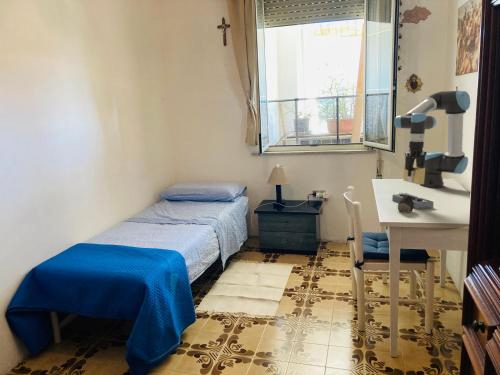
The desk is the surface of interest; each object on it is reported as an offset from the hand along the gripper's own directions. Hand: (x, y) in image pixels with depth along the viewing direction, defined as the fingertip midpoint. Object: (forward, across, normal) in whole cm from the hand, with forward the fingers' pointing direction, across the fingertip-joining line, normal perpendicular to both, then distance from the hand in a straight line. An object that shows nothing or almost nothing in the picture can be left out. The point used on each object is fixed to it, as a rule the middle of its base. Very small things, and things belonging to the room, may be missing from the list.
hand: (413, 181), depth 221 cm
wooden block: (0, 0, 0) cm, 0 cm away
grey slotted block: (+14, 0, 0) cm, 14 cm away
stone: (+14, -14, -11) cm, 22 cm away
